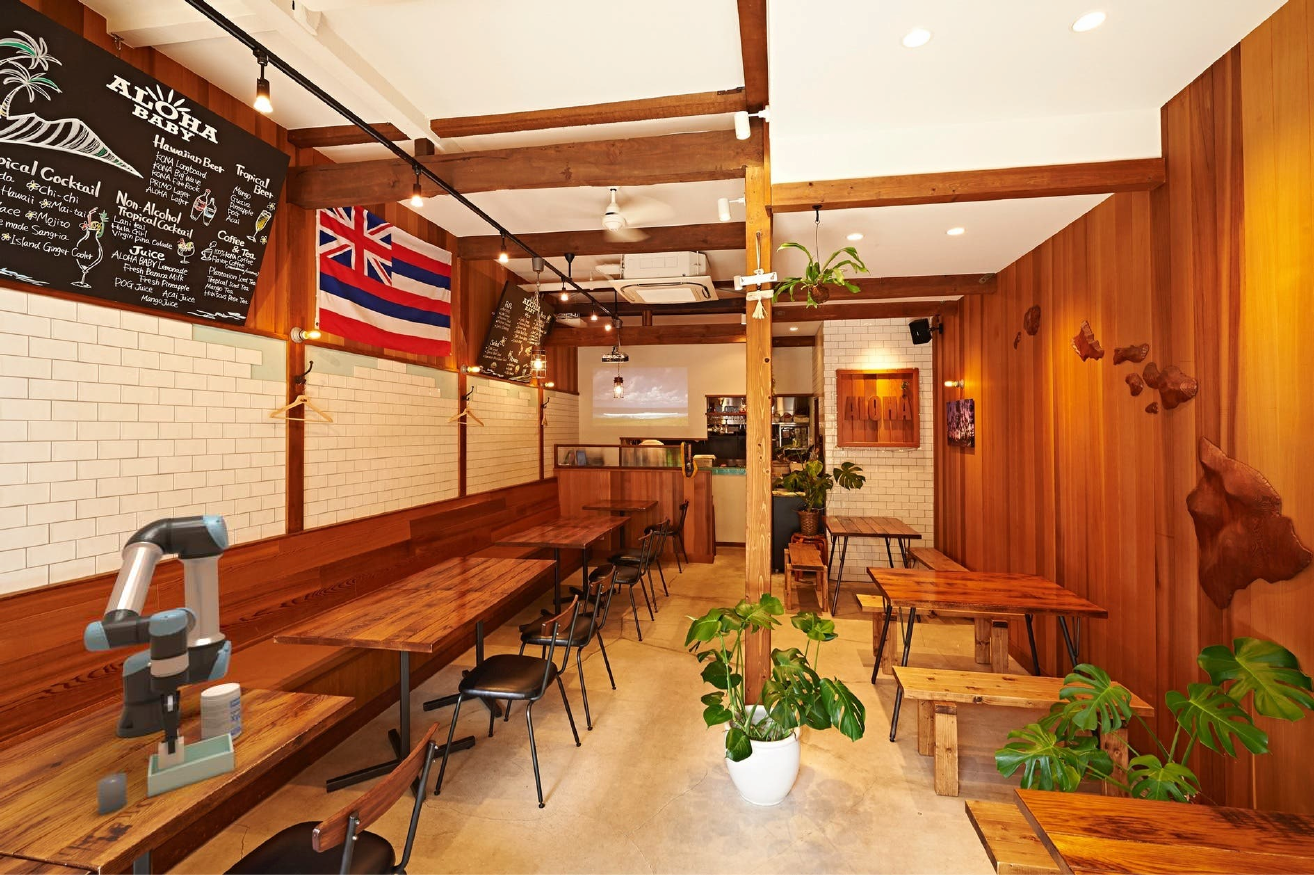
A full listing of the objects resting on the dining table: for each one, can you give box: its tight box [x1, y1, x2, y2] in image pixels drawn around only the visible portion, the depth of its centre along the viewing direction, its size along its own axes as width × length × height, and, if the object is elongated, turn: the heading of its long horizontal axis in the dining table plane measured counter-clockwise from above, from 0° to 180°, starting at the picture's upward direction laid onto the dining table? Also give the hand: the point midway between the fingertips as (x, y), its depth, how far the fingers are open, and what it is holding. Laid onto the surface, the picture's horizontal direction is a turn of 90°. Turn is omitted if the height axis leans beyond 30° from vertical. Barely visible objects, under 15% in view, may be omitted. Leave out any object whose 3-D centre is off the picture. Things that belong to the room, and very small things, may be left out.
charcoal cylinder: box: [97, 772, 128, 816], centre depth 138 cm, size 5×5×7 cm
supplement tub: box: [200, 682, 243, 741], centre depth 169 cm, size 10×10×15 cm
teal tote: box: [147, 733, 235, 798], centre depth 152 cm, size 13×17×5 cm
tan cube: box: [157, 735, 185, 770], centre depth 149 cm, size 5×5×5 cm
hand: (172, 760), depth 149 cm, fingers closed on tan cube, 5 cm apart
